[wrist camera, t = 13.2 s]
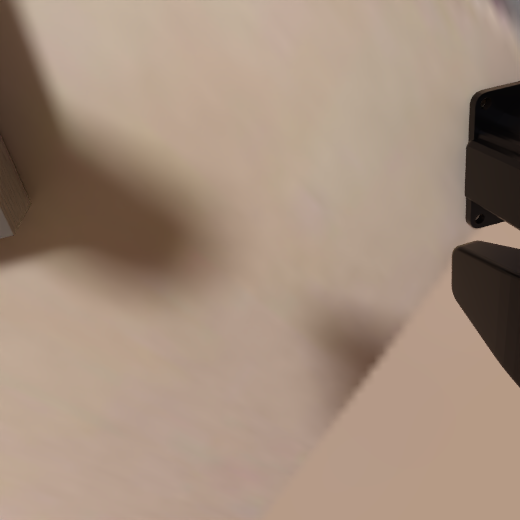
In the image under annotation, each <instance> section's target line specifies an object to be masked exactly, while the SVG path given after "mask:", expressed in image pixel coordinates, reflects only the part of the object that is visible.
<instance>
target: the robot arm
mask: <svg viewBox="0 0 520 520" xmlns="http://www.w3.org/2000/svg"><path fill="white" fill-rule="evenodd" d="M485 98H486V103H485V105H484V106H483V107H481V102H482V100H483V99H485ZM465 196H466V222H467V223H468V224H469V225H470V226H472V227H474V228H482V227H485V226H489V225H493V224H497V223H500V222H504V221H506V222H507V223H509V224H510V225H512V226H514V227H515V228H517V229H519V230H520V81H518V82H514V83H510V84H506V85H501V86H497V87H493V88H489V89H485V90H481V91H479V92H477V93H476V94H475V95H473V97H472V99H471V102H470V115H469V142H468V145H467V147H466V172H465ZM479 214H480V216H479V218H478V219H477V220H475V218H476V217H477V216H478V215H479ZM452 291H453V295H454V297H455V299H456V301H457V302H458V304H459V305H460V307H461V308H462V310H463V311H464V312H465V314H466V315H467V317H468V318H469V320H470V321H471V323H472V324H473V326H474V327H475V328H476V330H477V331H478V333H479V334H480V335H481V337H482V339H483V340H484V341H485V343H486V344H487V346H488V347H489V349H490V350H491V352H492V353H493V355H494V356H495V357H496V359H497V360H498V361H499V363H500V364H501V365H502V367H503V368H504V369H505V371H506V372H507V373H508V374H509V375H510V377H511V378H512V379H513V380H514V381H515V383H516V384H517V385H518V386H519V387H520V249H517V248H512V247H507V246H502V245H497V244H493V243H488V242H483V241H473V242H470V243H466V244H463V245H460V246H457V247H456V248H455V249H454V250H453V253H452Z"/></svg>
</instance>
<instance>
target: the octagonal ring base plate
mask: <svg viewBox="0 0 520 520" xmlns="http://www.w3.org/2000/svg"><path fill="white" fill-rule="evenodd" d="M30 205H31V202H30V200H29V198H28V195H27V193H26V191H25V189H24V186H23V184H22V182H21V180H20V177H19V175H18V173H17V171H16V168H15V166H14V164H13V162H12V159H11V157H10V155H9V153H8V150H7V148H6V146H5V144H4V141H3V139H2V137H1V135H0V239H1V238H5V237H9V236H13V235H14V234H15V232H16V230H17V229H18V227H19V225H20V223H21V221H22V220H23V218H24V216H25V214H26V212H27V210H28V209H29V207H30Z"/></svg>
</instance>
